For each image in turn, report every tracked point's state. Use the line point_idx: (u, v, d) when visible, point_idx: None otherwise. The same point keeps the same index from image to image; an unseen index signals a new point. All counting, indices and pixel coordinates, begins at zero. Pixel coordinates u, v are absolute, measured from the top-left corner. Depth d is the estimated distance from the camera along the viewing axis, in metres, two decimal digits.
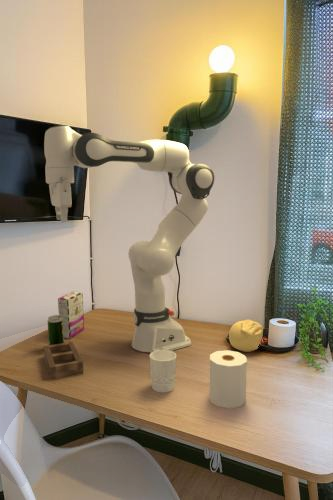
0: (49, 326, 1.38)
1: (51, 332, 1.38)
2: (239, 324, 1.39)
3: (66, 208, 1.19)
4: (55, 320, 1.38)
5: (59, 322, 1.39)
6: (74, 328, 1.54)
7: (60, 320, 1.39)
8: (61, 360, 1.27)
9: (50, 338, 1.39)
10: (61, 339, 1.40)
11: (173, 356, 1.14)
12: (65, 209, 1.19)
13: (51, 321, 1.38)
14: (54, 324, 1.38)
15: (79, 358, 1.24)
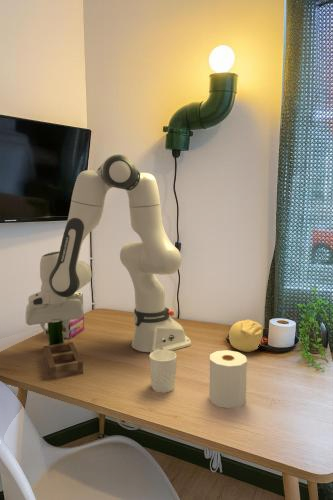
0: (49, 326, 1.38)
1: (51, 332, 1.38)
2: (239, 324, 1.39)
3: None
4: (55, 320, 1.38)
5: (59, 322, 1.39)
6: (74, 328, 1.54)
7: (60, 320, 1.39)
8: (61, 360, 1.27)
9: (50, 338, 1.39)
10: (61, 339, 1.40)
11: (173, 356, 1.14)
12: None
13: (51, 321, 1.38)
14: (54, 324, 1.38)
15: (79, 358, 1.24)
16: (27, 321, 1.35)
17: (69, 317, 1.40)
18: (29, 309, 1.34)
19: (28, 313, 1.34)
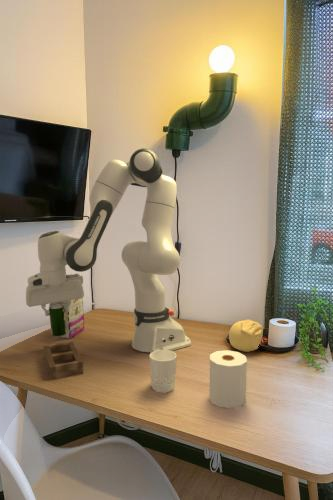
0: (51, 313, 1.37)
1: (53, 319, 1.37)
2: (239, 324, 1.39)
3: None
4: (56, 306, 1.37)
5: (60, 308, 1.38)
6: (74, 328, 1.54)
7: (61, 306, 1.38)
8: (61, 360, 1.27)
9: (52, 325, 1.38)
10: (63, 325, 1.39)
11: (173, 356, 1.14)
12: None
13: (52, 307, 1.37)
14: (55, 310, 1.37)
15: (79, 358, 1.24)
16: (28, 303, 1.33)
17: (70, 297, 1.39)
18: (29, 290, 1.32)
19: (28, 294, 1.32)
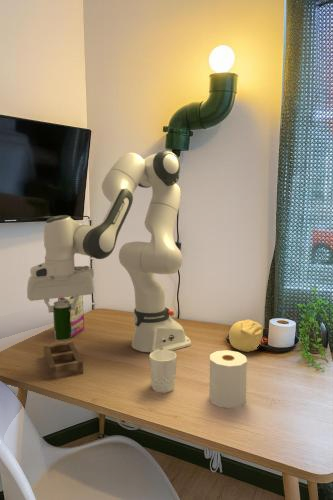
0: (55, 312, 1.20)
1: (57, 320, 1.19)
2: (239, 324, 1.39)
3: None
4: (62, 305, 1.19)
5: (66, 308, 1.20)
6: (74, 328, 1.54)
7: (67, 306, 1.20)
8: (61, 360, 1.27)
9: (56, 326, 1.20)
10: (69, 328, 1.21)
11: (173, 356, 1.14)
12: None
13: (57, 307, 1.19)
14: (61, 310, 1.19)
15: (79, 358, 1.24)
16: (29, 296, 1.15)
17: (77, 292, 1.21)
18: (31, 282, 1.15)
19: (30, 286, 1.15)
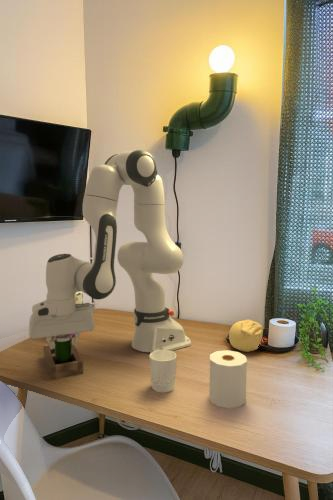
0: (56, 346, 1.21)
1: (58, 353, 1.21)
2: (239, 324, 1.39)
3: None
4: (63, 339, 1.20)
5: (67, 341, 1.21)
6: None
7: (69, 339, 1.21)
8: None
9: (57, 359, 1.21)
10: (70, 360, 1.22)
11: (173, 356, 1.14)
12: None
13: (58, 340, 1.20)
14: (62, 343, 1.20)
15: (79, 358, 1.24)
16: (31, 334, 1.17)
17: (78, 329, 1.23)
18: (33, 321, 1.16)
19: (32, 325, 1.16)
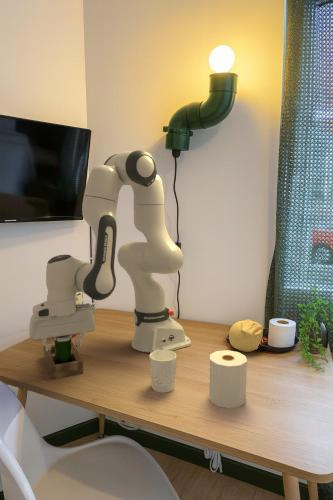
0: (56, 346, 1.21)
1: (58, 353, 1.21)
2: (239, 324, 1.39)
3: None
4: (63, 339, 1.20)
5: (67, 341, 1.21)
6: None
7: (68, 339, 1.21)
8: None
9: (57, 359, 1.21)
10: (70, 360, 1.22)
11: (173, 356, 1.14)
12: None
13: (58, 340, 1.20)
14: (62, 343, 1.20)
15: (79, 358, 1.24)
16: (31, 335, 1.17)
17: (79, 330, 1.23)
18: (33, 322, 1.16)
19: (32, 326, 1.16)
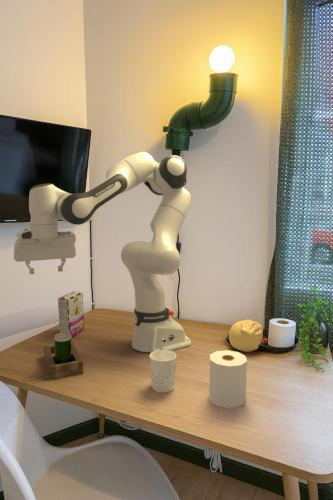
0: (56, 346, 1.21)
1: (58, 353, 1.21)
2: (239, 324, 1.39)
3: None
4: (63, 339, 1.20)
5: (67, 341, 1.21)
6: (74, 328, 1.54)
7: (68, 339, 1.21)
8: None
9: (57, 359, 1.21)
10: (70, 360, 1.22)
11: (173, 356, 1.14)
12: None
13: (58, 340, 1.20)
14: (62, 343, 1.20)
15: (79, 358, 1.24)
16: (15, 257, 1.25)
17: (61, 255, 1.31)
18: (17, 244, 1.24)
19: (16, 248, 1.25)
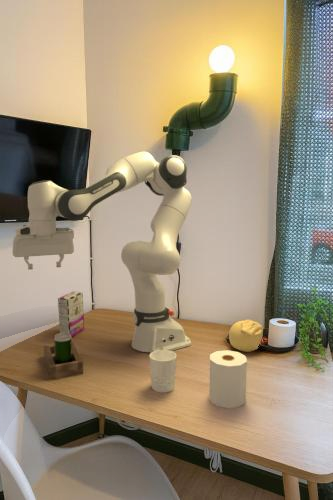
0: (56, 346, 1.21)
1: (58, 353, 1.21)
2: (239, 324, 1.39)
3: None
4: (63, 339, 1.20)
5: (67, 341, 1.21)
6: (74, 328, 1.54)
7: (68, 339, 1.21)
8: None
9: (57, 359, 1.21)
10: (70, 360, 1.22)
11: (173, 356, 1.14)
12: None
13: (58, 340, 1.20)
14: (62, 343, 1.20)
15: (79, 358, 1.24)
16: (14, 252, 1.27)
17: (59, 251, 1.33)
18: (16, 239, 1.26)
19: (15, 244, 1.26)
